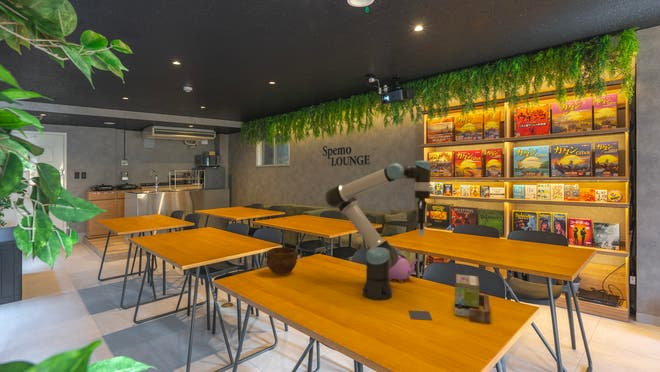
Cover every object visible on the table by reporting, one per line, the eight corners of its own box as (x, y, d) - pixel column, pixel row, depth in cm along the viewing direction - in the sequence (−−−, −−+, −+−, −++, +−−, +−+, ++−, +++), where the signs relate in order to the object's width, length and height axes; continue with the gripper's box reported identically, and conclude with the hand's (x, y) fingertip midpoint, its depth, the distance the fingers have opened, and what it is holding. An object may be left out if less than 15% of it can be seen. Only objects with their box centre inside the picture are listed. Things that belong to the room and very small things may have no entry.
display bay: (469, 320, 144) (469, 309, 144) (470, 302, 164) (470, 292, 164) (489, 324, 141) (490, 312, 141) (488, 305, 161) (488, 295, 161)
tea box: (479, 319, 146) (479, 285, 146) (454, 315, 150) (454, 282, 149) (477, 306, 160) (478, 275, 160) (454, 303, 164) (455, 273, 163)
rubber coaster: (410, 320, 145) (410, 318, 145) (408, 312, 154) (408, 310, 154) (432, 321, 144) (432, 319, 144) (428, 313, 153) (428, 311, 153)
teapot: (422, 279, 201) (422, 256, 200) (411, 286, 188) (412, 261, 188) (388, 272, 214) (389, 251, 213) (376, 278, 201) (377, 256, 201)
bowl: (295, 278, 200) (295, 253, 200) (263, 278, 201) (263, 253, 200) (298, 269, 219) (298, 247, 219) (269, 269, 219) (269, 246, 219)
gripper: (428, 191, 168) (427, 238, 169) (431, 190, 180) (430, 234, 181) (412, 190, 171) (412, 237, 172) (417, 189, 183) (416, 233, 184)
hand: (421, 235), depth 176 cm, fingers closed
